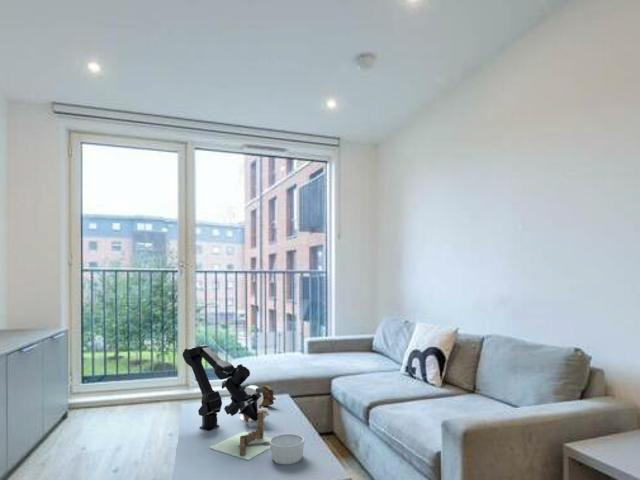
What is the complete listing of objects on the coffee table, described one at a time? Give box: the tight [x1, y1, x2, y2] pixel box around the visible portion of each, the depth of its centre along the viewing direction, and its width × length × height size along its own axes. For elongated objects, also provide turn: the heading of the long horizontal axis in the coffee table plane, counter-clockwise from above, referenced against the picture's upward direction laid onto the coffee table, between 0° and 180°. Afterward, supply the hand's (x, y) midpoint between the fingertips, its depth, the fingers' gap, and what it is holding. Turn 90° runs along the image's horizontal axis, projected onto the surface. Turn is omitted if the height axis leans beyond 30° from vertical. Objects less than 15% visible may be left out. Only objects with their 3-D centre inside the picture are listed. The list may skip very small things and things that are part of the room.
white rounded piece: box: [239, 383, 264, 423], centre depth 204 cm, size 12×11×15 cm
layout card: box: [209, 431, 272, 461], centre depth 171 cm, size 21×20×1 cm
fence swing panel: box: [245, 410, 264, 444], centre depth 174 cm, size 10×3×11 cm, turn 142°
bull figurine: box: [241, 407, 270, 427], centre depth 193 cm, size 4×13×8 cm, turn 78°
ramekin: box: [270, 433, 305, 466], centre depth 158 cm, size 13×13×7 cm
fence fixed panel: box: [240, 436, 245, 456], centre depth 165 cm, size 10×2×4 cm, turn 11°
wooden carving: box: [259, 385, 276, 407], centre depth 222 cm, size 16×5×10 cm, turn 50°
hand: (257, 419), depth 177 cm, fingers closed
